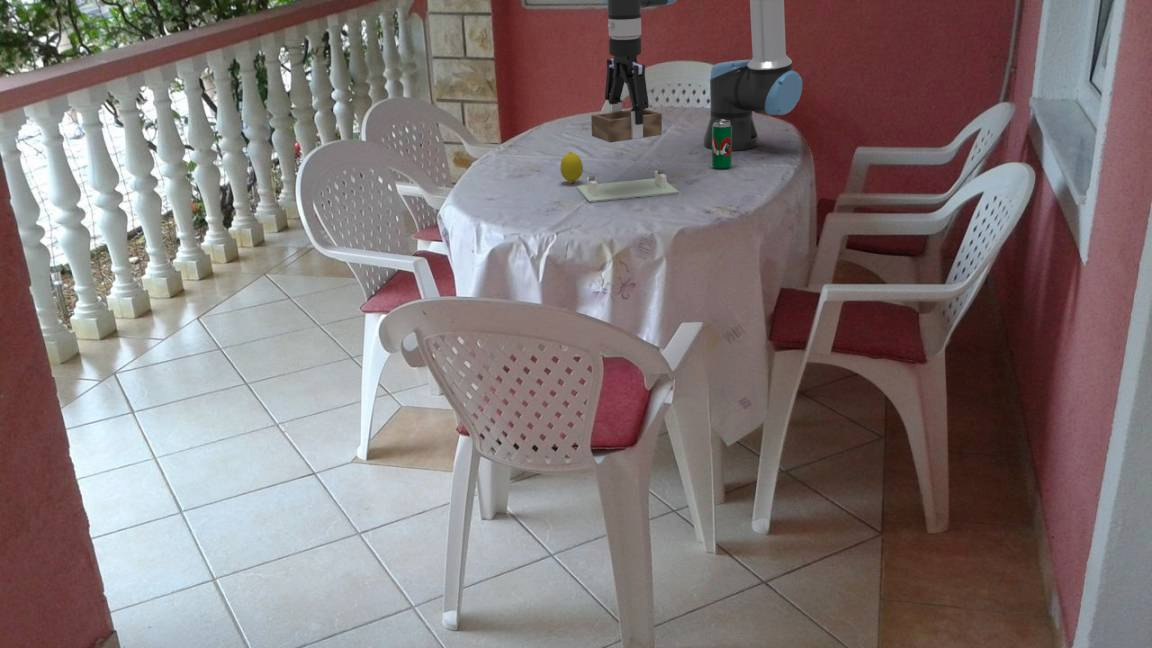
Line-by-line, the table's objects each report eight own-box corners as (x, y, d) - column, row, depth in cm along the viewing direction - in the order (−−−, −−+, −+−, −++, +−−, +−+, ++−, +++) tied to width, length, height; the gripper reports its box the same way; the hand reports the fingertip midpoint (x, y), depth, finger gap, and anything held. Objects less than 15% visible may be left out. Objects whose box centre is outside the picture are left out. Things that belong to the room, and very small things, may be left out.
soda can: (733, 165, 269) (734, 119, 264) (728, 170, 265) (728, 123, 260) (715, 164, 271) (715, 118, 266) (709, 169, 267) (709, 122, 262)
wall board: (661, 179, 259) (661, 162, 258) (678, 193, 246) (678, 176, 245) (576, 188, 255) (575, 171, 254) (589, 202, 243) (588, 185, 241)
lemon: (567, 187, 256) (565, 155, 253) (557, 182, 261) (555, 151, 258) (587, 183, 259) (585, 152, 255) (576, 179, 263) (575, 148, 260)
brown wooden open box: (642, 128, 252) (642, 108, 250) (661, 134, 245) (661, 113, 243) (591, 135, 246) (591, 115, 244) (610, 142, 239) (609, 121, 237)
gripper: (588, 34, 244) (591, 128, 253) (634, 43, 226) (636, 144, 235) (615, 31, 247) (617, 125, 256) (663, 40, 230) (664, 140, 238)
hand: (626, 134), depth 246 cm, fingers closed on brown wooden open box, 9 cm apart
